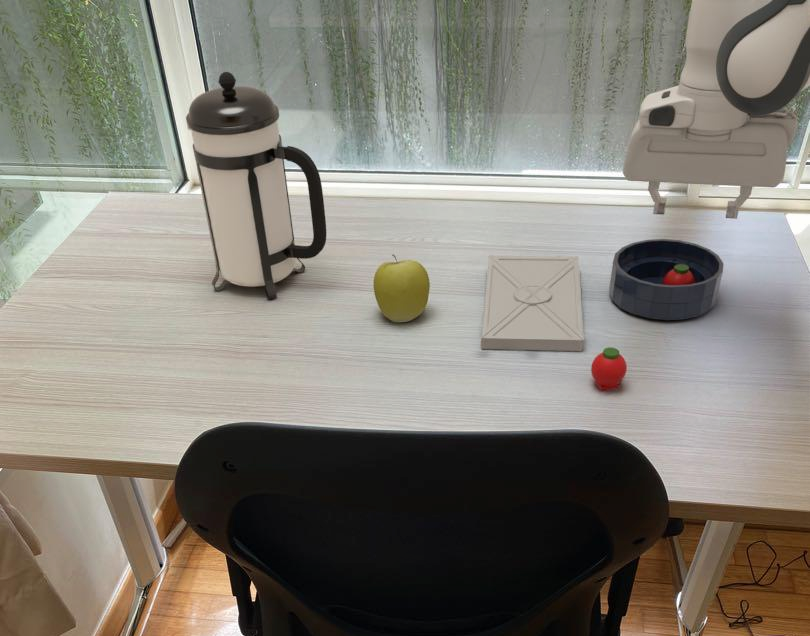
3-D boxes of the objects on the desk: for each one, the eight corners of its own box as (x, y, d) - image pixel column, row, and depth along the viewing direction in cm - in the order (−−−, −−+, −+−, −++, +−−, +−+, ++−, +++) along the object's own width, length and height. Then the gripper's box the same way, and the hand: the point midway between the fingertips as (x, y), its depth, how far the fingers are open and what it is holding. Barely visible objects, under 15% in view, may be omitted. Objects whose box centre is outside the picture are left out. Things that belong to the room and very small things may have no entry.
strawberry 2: (615, 373, 114) (620, 340, 111) (629, 391, 111) (635, 357, 108) (584, 378, 114) (587, 345, 110) (597, 396, 111) (601, 363, 107)
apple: (431, 324, 123) (408, 258, 118) (380, 334, 127) (355, 271, 121) (443, 298, 129) (422, 234, 123) (394, 308, 132) (371, 246, 126)
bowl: (717, 278, 132) (724, 243, 128) (713, 328, 122) (721, 292, 118) (615, 269, 136) (620, 235, 132) (603, 317, 125) (607, 281, 121)
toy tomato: (692, 293, 128) (698, 261, 125) (690, 307, 125) (696, 275, 122) (661, 290, 129) (666, 258, 126) (659, 304, 126) (664, 272, 123)
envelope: (481, 350, 120) (582, 352, 119) (481, 336, 119) (583, 338, 117) (488, 267, 137) (577, 268, 136) (488, 254, 136) (578, 255, 134)
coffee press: (222, 313, 130) (178, 97, 110) (205, 268, 142) (163, 65, 121) (334, 292, 134) (312, 79, 113) (309, 250, 145) (285, 49, 125)
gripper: (801, 99, 109) (776, 210, 118) (633, 96, 114) (621, 201, 123) (802, 116, 104) (776, 229, 114) (627, 111, 109) (616, 220, 119)
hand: (694, 215), depth 118 cm, fingers open, 8 cm apart
